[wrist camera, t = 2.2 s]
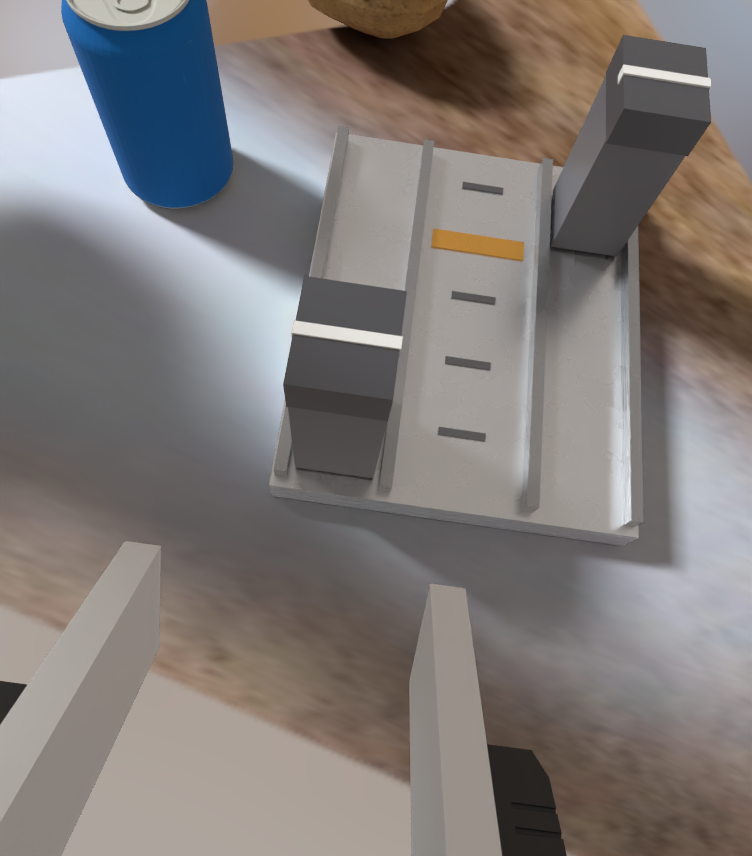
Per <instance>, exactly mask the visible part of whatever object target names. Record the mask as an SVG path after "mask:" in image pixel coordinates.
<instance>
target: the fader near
mask: <svg viewBox="0 0 752 856" xmlns="http://www.w3.org/2000/svg"><path fill="white" fill-rule="evenodd" d="M406 296H407V291H403V290H396V289H389V288H383V287H376V286H369V285H363V284H356V283H349V282H342V281H336V280H329V279H322V278H316V277H309V276H304V280H303V285H302V290H301V296H300V301H299V306H298V311H297V316H296V321H295V320H294V322H293V327H292V342H291V347H290V352H289V358H288V363H287V368H286V373H285V378H284V383H283V385H284V393H285V401H286V407H288V413H289V421H290V430H291V438H292V446H293V455H294V463H295V467H296V468H303V469H310V470H317V471H324V472H331V473H338V474H345V475H352V476H359V477H366V478H374V474H375V470H376V466H377V462H378V458H379V454H380V449H381V445H382V441H383V437H384V433H385V429H386V425H387V421H388V419H389V415H390V411H391V407H392V403H393V398H394V390H395V382H396V374H397V366H398V358H399V356H400V352H401V347H402V339H403V336H401V335H402V327H403V319H404V311H405V303H406Z"/></svg>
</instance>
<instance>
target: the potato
mask: <svg viewBox="0 0 752 856" xmlns="http://www.w3.org/2000/svg"><path fill="white" fill-rule="evenodd" d="M308 1H309V3H310V4H311V6H312V7H314V8H315V9H317V10H318V11H321V12H322V13H324V14H325V15H327V16H328V17H331V18H333V19H335V20H337V21H339V22H341V23H343V24H345V25H347V26H349V27H351V28H353V29H356V30H358V31H361V32H363V33H366V34H369V35H373V36H376V37H380V38H396V37H399V36H403V35H406V34H409V33H412V32H416V31H419V30H421V29H422V28H424V27H426V26H427V25H429V24H430V23H432V22H434V21H435V20H437V19H438V18H440V16H441V14H442V12H443V10H444V7H445V5H446V3H447V0H308Z"/></svg>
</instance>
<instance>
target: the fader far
mask: <svg viewBox="0 0 752 856" xmlns="http://www.w3.org/2000/svg"><path fill="white" fill-rule="evenodd" d="M710 87H711V79H710V78H708V73H707V58H706V48H702V47H696V46H690V45H683V44H677V43H671V42H665V41H658V40H652V39H646V38H640V37H633V36H627V35H623V37H622V39H621V41H620V43H619V45H618V47H617V50H616V52H615V54H614V56H613V58H612V60H611V63H610V65H609V67H608V69H607V71H606V77H605V79H604V81H603V83H602V85H601V87H600V90H599V92H598V94H597V96H596V98H595V100H594V102H593V105H592V107H591V109H590V111H589V113H588V115H587V118H586V120H585V122H584V124H583V126H582V128H581V131H580V133H579V135H578V137H577V139H576V141H575V144H574V146H573V148H572V150H571V152H570V154H569V157H568V159H567V161H566V163H565V165H564V167H563V169H562V172H561V174H560V176H559V178H558V180H557V182H556V185H555V187H554V189H553V202H552V229H551V247H557V248H564V249H570V250H577V251H584V252H590V253H597V254H603V255H610V256H616V257H617V256H618V254H619V253H620V251H621V250H622V248H623V247H624V245H625V244H626V242H627V241H628V240H629V238H630V237H631V235H632V234H633V232H634V231H635V229H636V228H637V226H638V225H639V223H640V222H641V220H642V219H643V218H644V216H645V215H646V213H647V212H648V210H649V209H650V207H651V206H652V204H653V203H654V201H655V200H656V198H657V197H658V195H659V194H660V193H661V191H662V190H663V188H664V187H665V185H666V184H667V182H668V181H669V179H670V178H671V176H672V175H673V173H674V172H675V171H676V169H677V168H678V166H679V165H680V163H681V162H682V160H683V159H684V157H685V156H688V155H689V154H690V152H691V151H692V149H693V148H694V146H695V145H696V143H697V142H698V141H699V139H700V138H701V136H702V135H703V133H704V132H705V130H706V129H707V127H708V126H709V125H710V123H711V113H710V99H709V89H710Z"/></svg>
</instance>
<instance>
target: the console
mask: <svg viewBox="0 0 752 856" xmlns="http://www.w3.org/2000/svg"><path fill="white" fill-rule="evenodd" d="M562 169H563V167H557V166H553V159H547V158H543V159H542V161H541V164H538V163H532V162H525V161H519V160H512V159H506V158H499V157H493V156H486V155H480V154H474V153H467V152H461V151H454V150H448V149H441V148H435V147H434V141H431V140H424V143H423V146H422V145H415V144H409V143H403V142H396V141H390V140H383V139H377V138H370V137H364V136H357V135H351V134H349V128H347V127H341V126H339V127H338V132H336V136H335V141H334V146H333V152H332V157H331V162H330V167H329V173H328V178H327V183H326V188H325V193H324V199H323V204H322V209H321V214H320V220H319V225H318V230H317V235H316V241H315V246H314V251H313V256H312V262H311V267H310V272H309V277H316V278H322V279H329V280H336V281H342V282H349V283H356V284H363V285H369V286H376V287H383V288H389V289H396V290H403V291H407V296H406V303H405V311H404V319H403V327H402V335H401V336H403V339H402V347H401V352H400V356H399V358H398V366H397V374H396V382H395V390H394V398H393V403H392V407H391V411H390V415H389V419H388V421H387V425H386V429H385V433H384V437H383V441H382V445H381V449H380V454H379V458H378V462H377V466H376V470H375V474H374V478H366V477H359V476H352V475H345V474H338V473H331V472H324V471H317V470H310V469H303V468H296V467H295V463H294V455H293V446H292V438H291V430H290V421H289V413H288V407H286V401H285V403H284V408H283V413H282V418H281V424H280V429H279V434H278V439H277V445H276V450H275V455H274V460H273V466H272V471H271V476H270V481H269V488H270V492H271V496H274V497H281V498H288V499H295V500H302V501H309V502H316V503H323V504H330V505H337V506H344V507H351V508H358V509H365V510H372V511H380V512H387V513H394V514H401V515H408V516H415V517H422V518H429V519H436V520H443V521H450V522H457V523H464V524H471V525H478V526H485V527H492V528H499V529H506V530H513V531H520V532H528V533H535V534H542V535H549V536H556V537H563V538H570V539H577V540H584V541H591V542H598V543H605V544H612V545H619V546H623V545H625V544H627V543H629V542H631V541H633V540H635V539H637V538H639V525H640V524H642V523H643V522H644V511H643V458H642V404H641V351H640V297H639V244H638V226H637V228H636V229H635V231H634V232H633V234H632V235H631V237H630V238H629V240H628V241H627V242H626V244H625V245H624V247H623V248H622V250H621V251H620V253H619V254H618V256H617V257H616V256H610V255H603V254H597V253H590V252H584V251H577V250H570V249H564V248H557V247H551V229H552V202H553V189H554V187H555V185H556V182H557V180H558V178H559V176H560V174H561V172H562Z"/></svg>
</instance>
